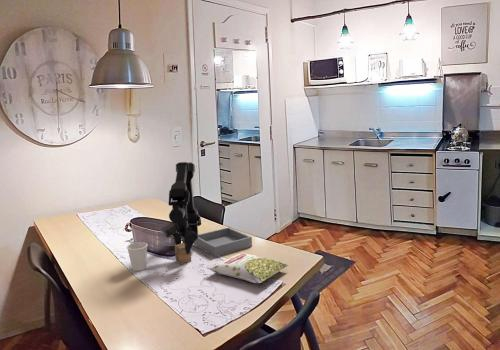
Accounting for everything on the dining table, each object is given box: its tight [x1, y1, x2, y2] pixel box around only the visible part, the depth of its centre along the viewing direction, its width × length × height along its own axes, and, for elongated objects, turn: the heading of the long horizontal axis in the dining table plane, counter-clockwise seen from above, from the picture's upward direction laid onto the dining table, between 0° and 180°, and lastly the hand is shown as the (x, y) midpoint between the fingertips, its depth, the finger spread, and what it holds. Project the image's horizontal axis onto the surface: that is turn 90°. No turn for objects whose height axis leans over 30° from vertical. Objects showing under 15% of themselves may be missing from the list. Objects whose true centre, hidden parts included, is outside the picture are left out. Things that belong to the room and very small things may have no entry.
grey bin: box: [193, 226, 253, 257], centre depth 197 cm, size 20×20×4 cm
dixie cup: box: [126, 241, 148, 272], centre depth 174 cm, size 8×8×10 cm
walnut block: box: [174, 242, 192, 265], centre depth 180 cm, size 5×5×7 cm
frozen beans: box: [207, 252, 289, 284], centre depth 165 cm, size 21×6×25 cm
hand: (182, 250), depth 180 cm, fingers open, 9 cm apart
